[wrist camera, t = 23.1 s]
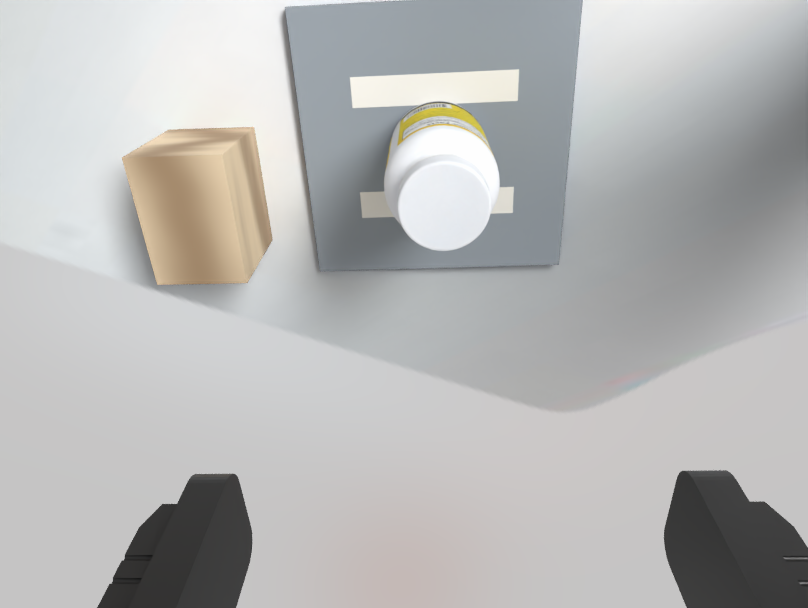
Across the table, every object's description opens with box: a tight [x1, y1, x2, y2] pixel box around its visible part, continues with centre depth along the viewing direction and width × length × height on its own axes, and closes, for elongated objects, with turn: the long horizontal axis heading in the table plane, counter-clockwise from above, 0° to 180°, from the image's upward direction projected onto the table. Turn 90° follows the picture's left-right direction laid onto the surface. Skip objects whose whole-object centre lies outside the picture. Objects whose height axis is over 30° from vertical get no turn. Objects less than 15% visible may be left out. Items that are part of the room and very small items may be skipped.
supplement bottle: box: [384, 101, 500, 251], centre depth 29 cm, size 5×5×10 cm
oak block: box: [122, 127, 272, 285], centre depth 33 cm, size 5×7×6 cm
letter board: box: [285, 0, 583, 271], centre depth 33 cm, size 15×15×1 cm
